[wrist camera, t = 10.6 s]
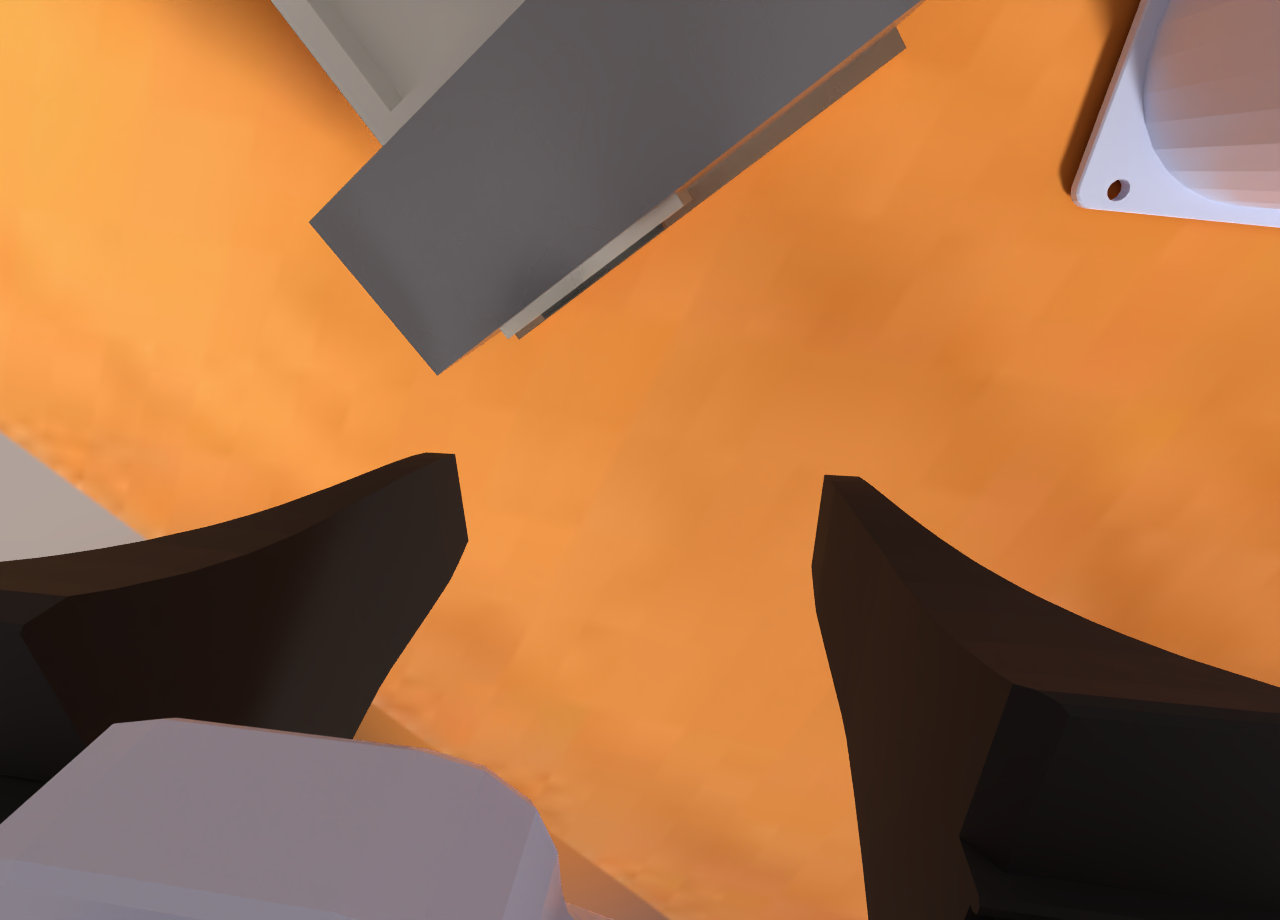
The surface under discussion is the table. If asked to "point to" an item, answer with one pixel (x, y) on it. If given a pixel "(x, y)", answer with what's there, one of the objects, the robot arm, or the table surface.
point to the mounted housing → (583, 150)
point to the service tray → (393, 48)
